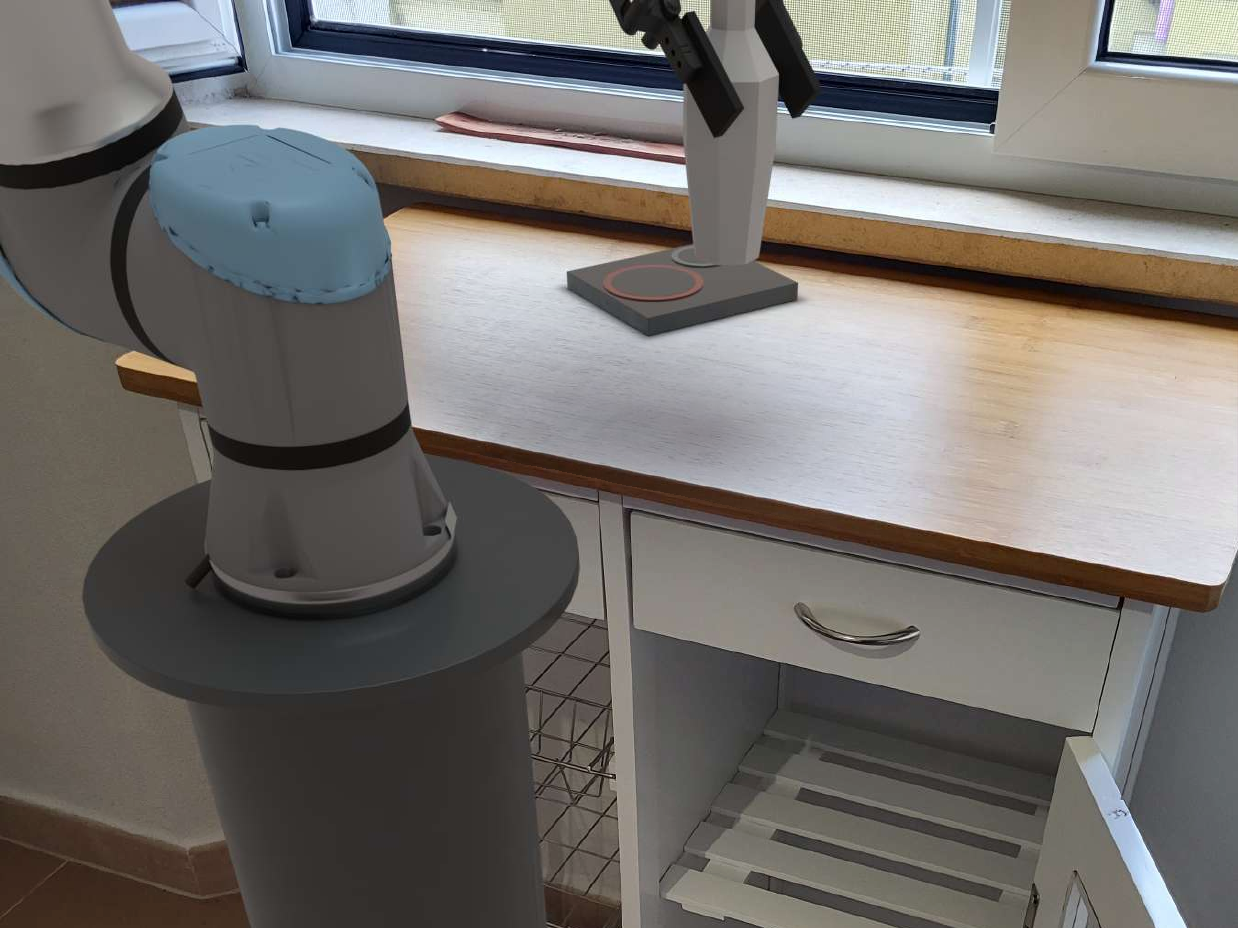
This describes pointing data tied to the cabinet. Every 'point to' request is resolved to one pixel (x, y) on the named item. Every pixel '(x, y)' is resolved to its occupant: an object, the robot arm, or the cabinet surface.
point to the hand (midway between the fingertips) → (768, 113)
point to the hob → (678, 289)
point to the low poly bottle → (732, 144)
